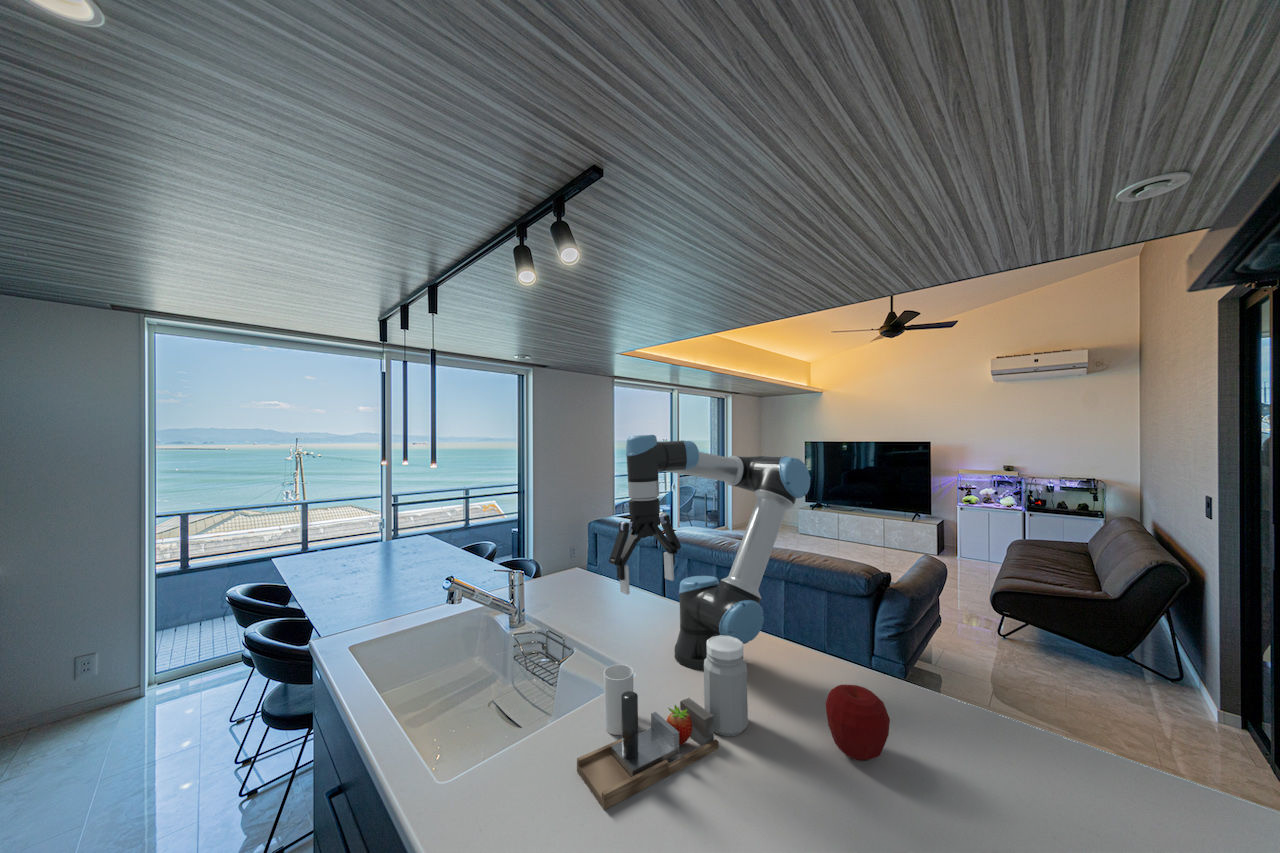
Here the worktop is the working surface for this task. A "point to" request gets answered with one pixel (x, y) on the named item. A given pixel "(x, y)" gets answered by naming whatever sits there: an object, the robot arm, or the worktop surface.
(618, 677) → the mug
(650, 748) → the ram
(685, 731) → the fruit
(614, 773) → the base
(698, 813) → the worktop surface
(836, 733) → the apple
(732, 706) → the jar
